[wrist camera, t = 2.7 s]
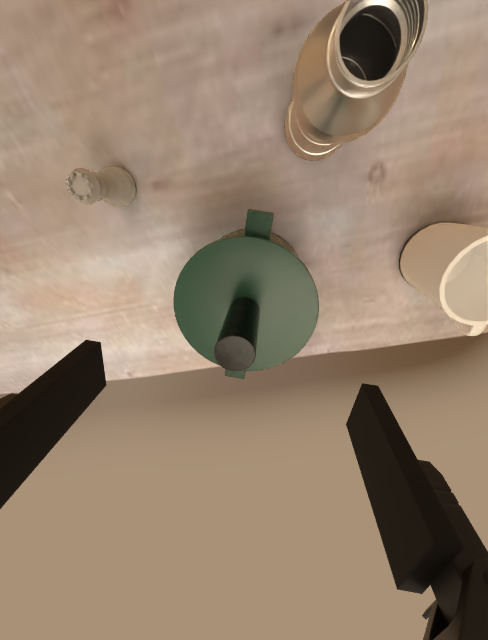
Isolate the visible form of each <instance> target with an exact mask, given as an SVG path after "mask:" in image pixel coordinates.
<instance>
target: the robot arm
mask: <svg viewBox="0 0 488 640" xmlns="http://www.w3.org/2000/svg"><path fill="white" fill-rule="evenodd" d="M105 386H106V380H105V372H104V364H103V357H102V349H101V342H96V341H89V340H85V341H84V342H83V343H81V344H80V345H79V346H78V347H76V348H75V349H74V350H73V351H71V352H70V353H69V354H68V355H66V356H65V357H64V358H63V359H61V360H60V361H59V362H58V363H56V364H55V365H54V366H53V367H51V368H50V369H49V370H48V371H46V372H45V373H44V374H43V375H41V376H40V377H39V378H38V379H36V380H35V381H34V382H33V383H31V384H30V385H29V386H28V387H26V388H25V389H24V390H23V391H21V392H20V393H19V394H13V393H11V394H9V395H7V396H5V397H3V398H1V399H0V509H1V508H2V506H3V505H4V504H5V503H6V502H7V501H8V499H9V498H10V497H11V496H12V495H13V494H14V492H15V491H16V490H17V489H18V488H19V487H20V485H21V484H22V483H23V482H24V481H25V480H26V478H27V477H28V476H29V475H30V474H31V473H32V471H33V470H34V469H35V468H36V467H37V466H38V464H39V463H40V462H41V461H42V460H43V459H44V457H45V456H46V455H47V454H48V453H49V451H50V450H51V449H52V448H53V447H54V446H55V444H56V443H57V442H58V441H59V440H60V439H61V437H62V436H63V435H64V434H65V433H66V432H67V430H68V429H69V428H70V427H71V426H72V425H73V424H74V422H75V421H76V420H77V419H78V418H79V416H80V415H81V414H82V413H83V412H84V411H85V409H86V408H87V407H88V406H89V405H90V404H91V402H92V401H93V400H94V399H95V398H96V397H97V395H98V394H99V393H100V392H101V391H102V390H103V388H104V387H105ZM346 426H347V429H348V432H349V435H350V438H351V441H352V445H353V448H354V451H355V455H356V458H357V461H358V464H359V467H360V470H361V474H362V477H363V480H364V483H365V487H366V490H367V493H368V497H369V499H370V503H371V506H372V509H373V513H374V516H375V519H376V522H377V526H378V529H379V532H380V535H381V538H382V542H383V545H384V548H385V551H386V554H387V558H388V561H389V564H390V568H391V571H392V574H393V577H394V580H395V584H396V587H397V589H398V590H404V591H409V592H415V593H420V594H422V593H423V592H424V591H425V590H426V589H427V588H428V587H429V586H430V585H431V587H432V590H433V592H434V595H435V597H436V600H435V601H434V602H433V603H432V604H431V605H430V606H429V608H427V610H426V611H425V612H424V614H423V615H422V616H423V617H424V618H425V619H427V618H428V617H429V620H428V624H427V627H426V631H425V635H424V638H423V640H488V551H487V550H486V548H485V546H484V545H483V543H482V541H481V540H480V538H479V536H478V535H477V533H476V531H475V530H474V528H473V526H472V524H471V523H470V521H469V519H468V518H467V516H466V514H465V513H464V511H463V509H462V508H461V506H459V504H458V501H457V499H456V497H455V496H454V494H453V493H451V489H450V487H449V486H448V484H447V482H446V481H445V479H444V477H443V476H442V474H441V473H440V472H439V471H438V470H437V469H436V468H435V467H434V466H433V465H432V464H431V463H430V462H428V461H422V460H417V458H416V456H415V454H414V452H413V451H412V449H411V447H410V445H409V443H408V441H407V439H406V437H405V435H404V434H403V432H402V430H401V428H400V426H399V424H398V422H397V420H396V419H395V417H394V415H393V413H392V411H391V409H390V407H389V406H388V404H387V402H386V400H385V398H384V396H383V394H382V393H381V390H380V389H379V387H378V386H376V385H369V384H362V385H361V388H360V390H359V393H358V395H357V398H356V400H355V403H354V405H353V408H352V411H351V413H350V416H349V418H348V421H347V423H346Z"/></svg>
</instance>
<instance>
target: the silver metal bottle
mask: <svg viewBox="0 0 488 640" xmlns="http://www.w3.org/2000/svg"><path fill="white" fill-rule="evenodd" d="M427 19H428V0H347V1H346V2H344V3H342V4H341V5H339V6H338V7H336V8H335V9H333V10H332V11H331V12H329V13H328V14H327V15H326V16H325V17H324V18H323V19H322V20H321V21H320V22H319V23H318V24H317V25H316V26H315V27H314V29H313V30H312V31H311V33H310V34H309V35H308V37H307V39H306V41H305V43H304V44H303V46H302V48H301V51H300V53H299V56H298V59H297V62H296V66H295V71H294V75H293V100H292V102H291V103H290V105H289V108H288V111H287V114H286V119H285V135H286V139H287V142H288V144H289V146H290V148H291V149H292V150H293V152H294V153H295V154H297V155H298V156H299V157H301V158H303V159H306V160H320V159H324V158H326V157H328V156H330V155H331V154H333V153H334V152H335V151H337V150H338V148H339V147H340V146H341V145H342V144H343V143H344V142H348V141H351V140H355V139H357V138H359V137H361V136H363V135H365V134H366V133H368V132H369V131H370V130H372V129H373V128H374V127H375V126H376V125H377V124H378V123H379V122H380V121H381V120H382V119H383V118H384V117H385V116H386V114H387V113H388V112H389V110H390V109H391V107H392V106H393V104H394V102H395V100H396V98H397V96H398V94H399V92H400V89H401V87H402V84H403V81H404V78H405V75H406V71H407V66H408V63H409V62H410V60H411V59H412V57H413V56H414V54H415V53H416V51H417V49H418V47H419V45H420V43H421V41H422V38H423V35H424V32H425V29H426V24H427Z"/></svg>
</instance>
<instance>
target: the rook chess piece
mask: <svg viewBox="0 0 488 640" xmlns="http://www.w3.org/2000/svg"><path fill="white" fill-rule="evenodd" d="M68 175H69V179H66V184H67V185H69V187H70V189H69V190H68V191H69V193H70V195H74V197H75V199H78V200H79V201H80V202H82V203H85V204H93V203H94V202H96V201H100V200H102V199H103V200H104V201H105V202H106V203H108V204H110V205H113V206H119V207H121V206H127V205H128V204H130V203H131V202H132V201H133V199H134V197H135V191H136V189H135V184H134V181H133V179H132V178H131V176H130V174H129V173H128V172H126V171H125V170H124V169H122V168H120V167H117V166H114V167H113V166H111V167H105V168H103V169H102V170H100V171H99V172H98V174H97V173H95V172H90V171H89V170H87V169H84V168H76V169H75V170H74V171H72V172H71V173H70V174H68Z"/></svg>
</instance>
